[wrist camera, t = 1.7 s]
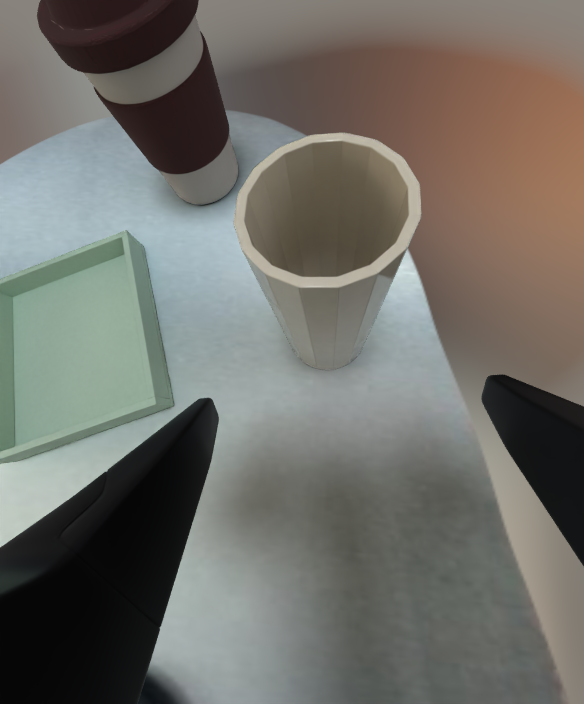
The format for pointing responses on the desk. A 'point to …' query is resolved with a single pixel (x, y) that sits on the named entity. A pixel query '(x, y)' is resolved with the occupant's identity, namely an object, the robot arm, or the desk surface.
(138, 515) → the robot arm
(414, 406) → the desk surface
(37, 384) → the tray
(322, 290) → the tumbler
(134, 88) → the coffee cup
